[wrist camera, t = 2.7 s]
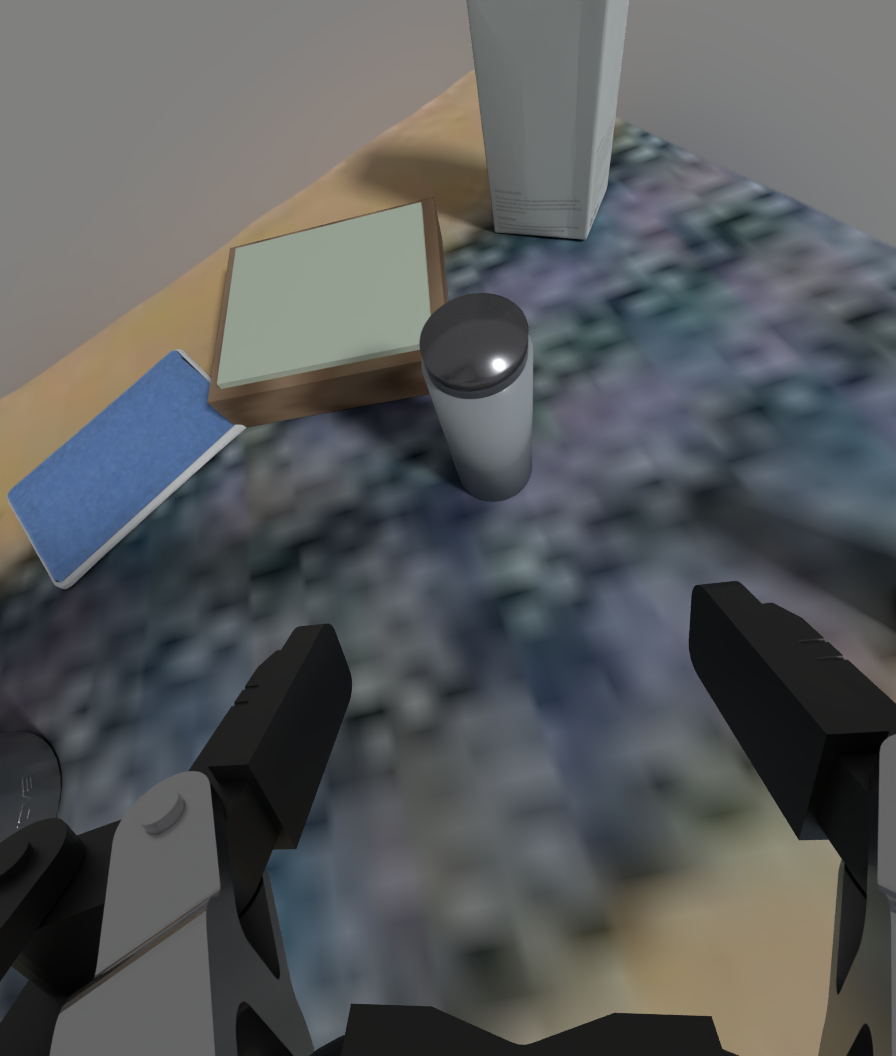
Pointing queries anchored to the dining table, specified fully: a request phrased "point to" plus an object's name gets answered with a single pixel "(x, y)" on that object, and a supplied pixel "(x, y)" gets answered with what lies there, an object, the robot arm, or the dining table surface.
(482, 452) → the ceramic jar
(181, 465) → the blue notebook
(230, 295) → the plinth
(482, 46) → the skincare box
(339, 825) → the dining table surface
